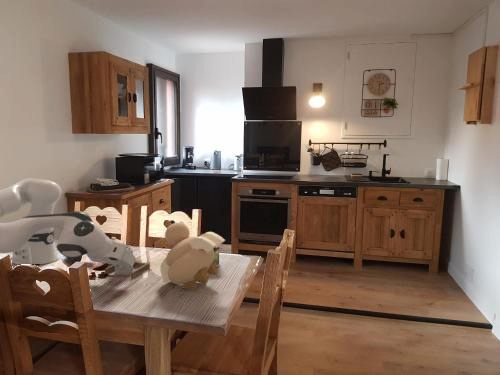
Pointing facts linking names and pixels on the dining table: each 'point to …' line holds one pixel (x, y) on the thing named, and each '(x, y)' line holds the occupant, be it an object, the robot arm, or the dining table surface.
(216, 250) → the coffee can
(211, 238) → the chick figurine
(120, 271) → the can
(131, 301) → the dining table surface
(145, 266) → the frame
